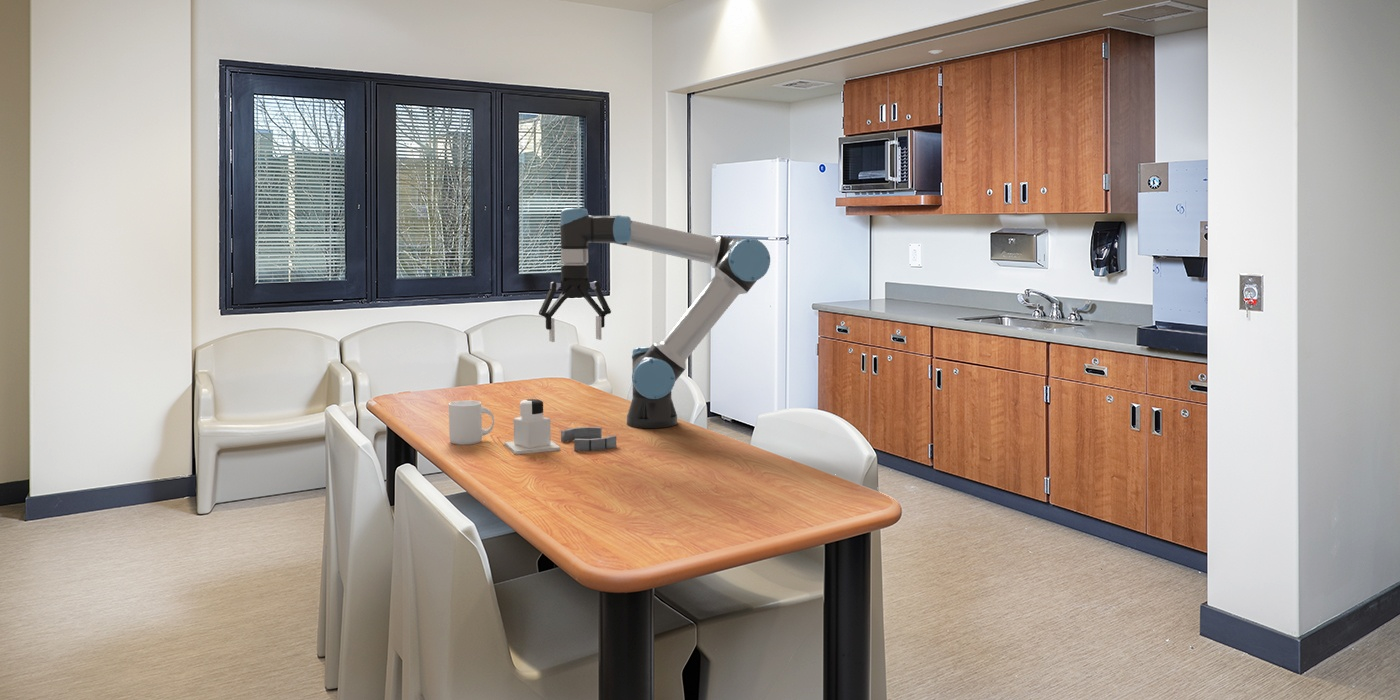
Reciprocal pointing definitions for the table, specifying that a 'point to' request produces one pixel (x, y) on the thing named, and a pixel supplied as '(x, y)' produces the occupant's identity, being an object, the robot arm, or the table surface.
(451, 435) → the mug
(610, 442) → the cradle
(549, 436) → the medicine bottle
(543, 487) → the table surface
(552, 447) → the tile
